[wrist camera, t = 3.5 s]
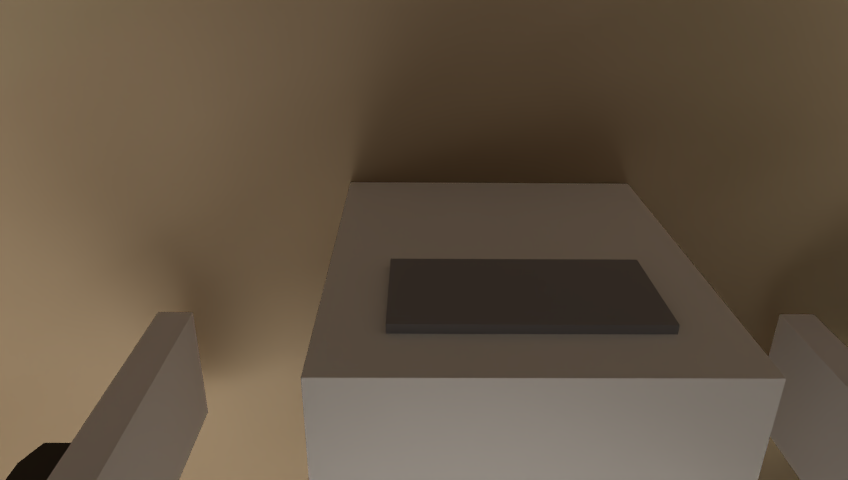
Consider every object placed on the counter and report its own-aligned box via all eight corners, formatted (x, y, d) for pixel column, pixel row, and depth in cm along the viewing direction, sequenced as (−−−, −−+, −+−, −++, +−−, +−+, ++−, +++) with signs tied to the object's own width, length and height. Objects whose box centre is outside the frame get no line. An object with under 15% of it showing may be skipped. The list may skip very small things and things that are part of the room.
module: (350, 175, 15) (300, 368, 8) (629, 177, 15) (788, 369, 8) (360, 467, 18) (331, 761, 12) (587, 467, 18) (678, 759, 12)
